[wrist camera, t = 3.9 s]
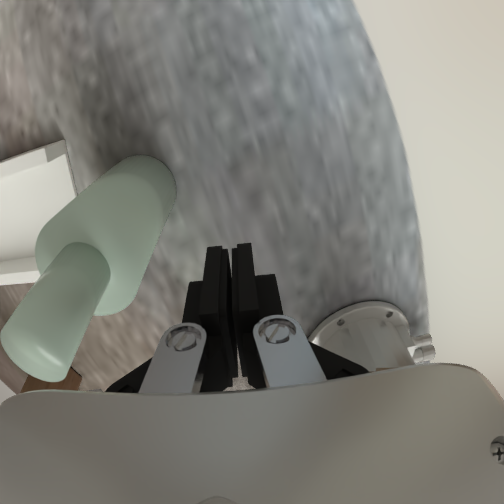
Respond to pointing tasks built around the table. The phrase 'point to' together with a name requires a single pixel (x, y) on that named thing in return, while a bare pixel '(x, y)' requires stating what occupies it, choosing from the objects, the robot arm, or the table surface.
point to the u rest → (30, 206)
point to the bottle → (89, 264)
